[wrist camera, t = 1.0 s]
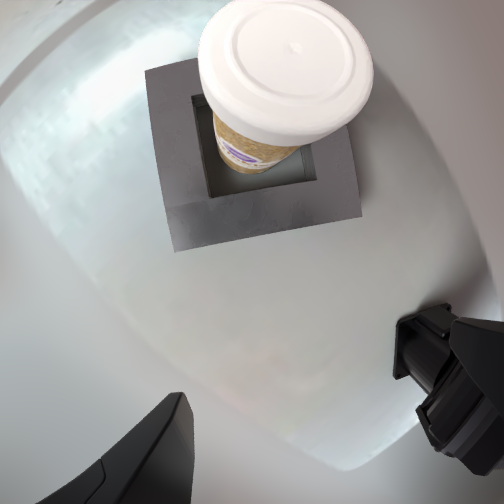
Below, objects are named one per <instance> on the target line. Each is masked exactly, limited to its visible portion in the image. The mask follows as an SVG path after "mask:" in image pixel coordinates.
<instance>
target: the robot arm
mask: <svg viewBox="0 0 504 504" xmlns="http://www.w3.org/2000/svg"><path fill="white" fill-rule="evenodd" d="M446 308H447V309H446ZM402 324H403V326H402V327H401V325H402ZM408 375H410V376H411V377H412V378H413V379H414V380H415V381H416V383H417V384H418V385H419V386H420V387H421V388H422V389H423V390H424V391H425V392H426V393H427V394H428V396H427V398H426V399H425V400H424V401H423V403H422V404H421V405H419V406H418V407H417V409H416V410H415V411H416V413H417V415H418V418H419V420H420V422H421V424H422V426H423V429H424V431H425V433H426V435H427V437H428V439H429V442H430V443H431V445H432V446H433V447H434V449H435V451H437V452H442V453H443V454H445V455H447V456H449V457H456V458H458V459H459V460H460V461H461V462H462V463H463V464H464V465H465V466H466V467H467V468H468V469H469V470H470V471H471V472H472V473H473V474H475V475H481V476H487V475H489V473H491V471H492V470H493V469H504V322H500V321H491V320H483V319H474V318H466V317H460V318H459V317H457V316H456V315H454V314H452V313H451V305H450V304H448V303H445V304H442V305H440V306H439V305H438V306H435V307H432V308H430V309H427V310H424V311H422V312H419V313H418V314H416V315H413V316H410V317H408V318H405V319H402V320H400V321H398V322H397V324H396V338H395V355H394V368H393V377H394V378H395V379H396V380H398V379H401V378H403V377H406V376H408ZM194 454H195V453H194V419H193V412H192V410H191V407H190V405H189V403H188V400H187V397H186V396H185V394H184V393H183V392H174V393H170V394H169V395H168V396H166V397H165V398H164V400H162V401H161V402H160V403H159V404H158V405H157V406H156V407H155V408H154V409H153V410H152V411H151V412H150V413H149V414H148V415H147V416H145V417H144V418H143V420H141V421H140V422H139V423H138V424H137V425H136V426H135V427H134V428H133V429H132V430H130V431H129V432H128V433H127V434H126V435H125V436H124V437H123V438H122V439H121V440H120V441H118V442H117V443H116V444H115V445H114V446H113V447H112V448H111V449H109V450H108V451H107V452H106V453H105V454H104V455H103V456H102V457H101V459H98V460H97V461H96V462H95V463H93V464H92V465H91V466H90V467H89V468H87V469H86V470H85V471H84V472H83V473H81V474H80V475H79V476H77V477H76V478H75V479H73V480H72V481H70V482H69V483H68V484H66V485H65V486H63V487H61V488H60V489H58V490H57V491H55V492H54V493H52V494H51V495H49V496H48V497H46V498H44V499H43V500H41V501H39V502H38V503H36V504H191V494H192V483H193V472H194V459H195V455H194Z"/></svg>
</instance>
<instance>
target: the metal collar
mask: <svg viewBox="0 0 504 504" xmlns="http://www.w3.org/2000/svg"><path fill="white" fill-rule="evenodd" d="M145 79H146V89H147V98H148V106H149V114H150V122H151V129H152V136H153V143H154V149H155V156H156V162H157V168H158V173H159V179H160V185H161V190H162V195H163V201H164V206H165V211H166V216H167V220H168V225H169V230H170V234H171V239H172V243H173V248H174V252H178V251H183V250H188V249H193V248H198V247H203V246H208V245H213V244H218V243H223V242H228V241H234V240H239V239H244V238H249V237H254V236H259V235H265V234H270V233H275V232H281V231H286V230H291V229H297V228H302V227H307V226H313V225H318V224H324V223H329V222H335V221H340V220H346V219H352V218H357V217H362V211H361V203H360V196H359V189H358V183H357V176H356V170H355V165H354V159H353V154H352V148H351V143H350V138H349V133H348V129H347V124H345V125H344V126H342V127H341V128H339V129H338V130H336V131H334V132H332V133H331V134H329V135H327V136H325V137H323V138H321V139H320V140H317V141H315V142H312V143H309V144H304V145H303V146H301V147H300V149H301V154H302V159H303V165H304V170H305V176H306V181H307V182H302V183H295V184H289V185H283V186H276V187H270V188H265V189H259V190H253V191H248V192H242V193H237V194H232V195H226V196H221V197H216V198H211V193H210V187H209V182H208V177H207V171H206V166H205V160H204V155H203V149H202V144H201V138H200V132H199V126H198V120H197V114H196V108H195V107H199V106H204V105H209V103H208V102H207V99H206V97H205V95H204V92H203V88H202V84H201V79H200V74H199V65H198V58H194V59H190V60H185V61H181V62H176V63H172V64H168V65H164V66H160V67H157V68H153V69H150V70H146V71H145Z"/></svg>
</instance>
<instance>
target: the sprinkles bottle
mask: <svg viewBox="0 0 504 504" xmlns="http://www.w3.org/2000/svg"><path fill="white" fill-rule="evenodd" d="M198 65H199V74H200V79H201V84H202V88H203V92H204V95H205V97H206V99H207V102H208V103H209V105H210V107H211V108H212V110H213V123H214V129H215V135H216V140H217V149H218V152H219V155H220V156H221V158H222V160H223V161H224V162H225V163H226V164H227V165H228V166H229V167H230V168H231V169H233V170H235V171H237V172H240V173H244V174H258V173H262V172H265V171H266V170H268V169H270V168H271V167H272V166H274V165H275V164H276V163H278V162H280V161H281V160H283V159H284V158H286V157H287V156H289V155H290V154H291V153H293V152H294V151H295V150H296V149H298V148H300V147H301V146H303V145H304V144H309V143H312V142H315V141H317V140H320V139H321V138H323V137H325V136H327V135H329V134H331V133H332V132H334V131H336V130H338V129H339V128H341V127H342V126H344V125H345V124H347V123H348V122H349V121H351V120H352V119H353V118H354V117H355V116H356V115H357V114H358V113H359V112H360V111H361V110H362V108H363V107H364V105H365V104H366V102H367V100H368V98H369V97H370V93H371V90H372V86H373V78H374V70H373V62H372V58H371V54H370V51H369V49H368V46H367V44H366V43H365V40H364V38H363V37H362V35H361V34H360V33H359V31H358V30H357V29H356V28H355V26H353V24H352V23H351V22H350V21H349V20H348V19H347V18H346V17H345V16H344V15H342V14H341V13H340V12H338V11H337V10H335V9H334V8H333V7H331V6H329V5H328V4H326V3H324V2H321V1H320V0H234V1H232V2H230V3H229V4H227V5H226V6H224V7H223V8H222V9H220V10H219V11H218V12H217V13H216V14H215V15H214V16H213V17H212V18H211V19H210V21H209V22H208V24H207V25H206V27H205V29H204V31H203V33H202V36H201V39H200V42H199V46H198Z"/></svg>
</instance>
